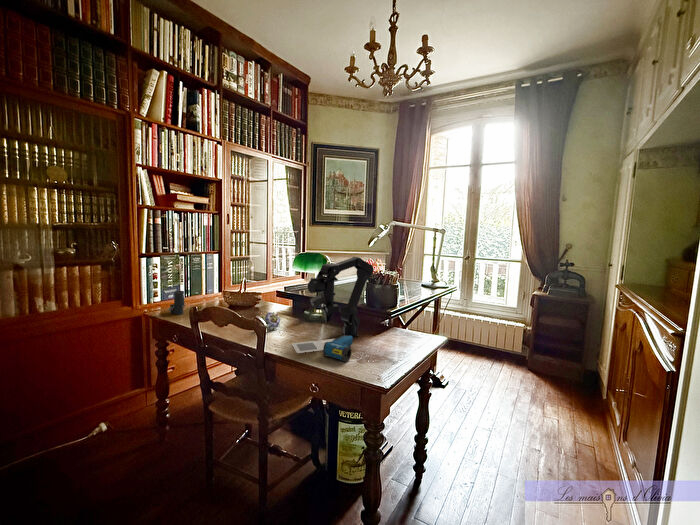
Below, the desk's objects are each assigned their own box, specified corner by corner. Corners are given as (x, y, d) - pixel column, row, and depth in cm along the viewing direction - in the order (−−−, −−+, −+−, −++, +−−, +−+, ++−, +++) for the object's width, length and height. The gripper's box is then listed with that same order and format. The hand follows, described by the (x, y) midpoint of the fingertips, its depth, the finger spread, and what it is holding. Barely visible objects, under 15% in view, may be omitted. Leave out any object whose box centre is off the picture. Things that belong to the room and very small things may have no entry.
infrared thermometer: (365, 350, 149) (344, 364, 131) (341, 344, 155) (318, 356, 137) (366, 337, 148) (345, 349, 131) (342, 331, 154) (318, 342, 137)
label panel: (338, 338, 161) (338, 338, 161) (347, 347, 150) (347, 346, 150) (291, 343, 151) (291, 343, 151) (297, 353, 140) (297, 353, 140)
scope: (179, 289, 197) (189, 291, 192) (180, 310, 198) (190, 313, 194) (166, 291, 190) (176, 293, 185) (167, 313, 191) (177, 316, 187)
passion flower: (274, 340, 170) (269, 326, 162) (258, 332, 174) (252, 319, 166) (287, 324, 177) (282, 310, 169) (271, 317, 181) (266, 304, 173)
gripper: (306, 287, 158) (306, 317, 160) (317, 295, 141) (317, 329, 143) (327, 286, 162) (327, 316, 164) (341, 294, 145) (340, 327, 147)
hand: (327, 321), depth 154 cm, fingers closed
